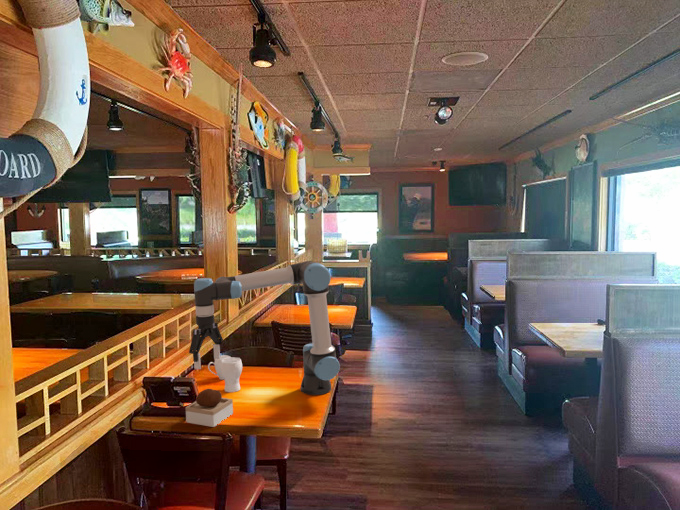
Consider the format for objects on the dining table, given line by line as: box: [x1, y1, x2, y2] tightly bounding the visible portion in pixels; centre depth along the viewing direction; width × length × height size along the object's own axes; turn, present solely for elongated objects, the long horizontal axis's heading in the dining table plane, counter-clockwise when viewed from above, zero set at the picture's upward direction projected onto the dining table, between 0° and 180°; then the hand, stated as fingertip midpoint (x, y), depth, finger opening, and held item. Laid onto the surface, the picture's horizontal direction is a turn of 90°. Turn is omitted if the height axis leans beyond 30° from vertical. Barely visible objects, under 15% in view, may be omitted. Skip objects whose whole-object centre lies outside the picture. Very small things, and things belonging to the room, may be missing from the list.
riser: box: [185, 397, 234, 428], centre depth 215 cm, size 14×14×7 cm
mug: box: [207, 354, 232, 381], centre depth 264 cm, size 12×8×11 cm
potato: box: [195, 388, 223, 407], centre depth 215 cm, size 8×11×8 cm
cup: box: [220, 356, 243, 393], centre depth 248 cm, size 11×11×15 cm
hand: (207, 363), depth 213 cm, fingers open, 13 cm apart
